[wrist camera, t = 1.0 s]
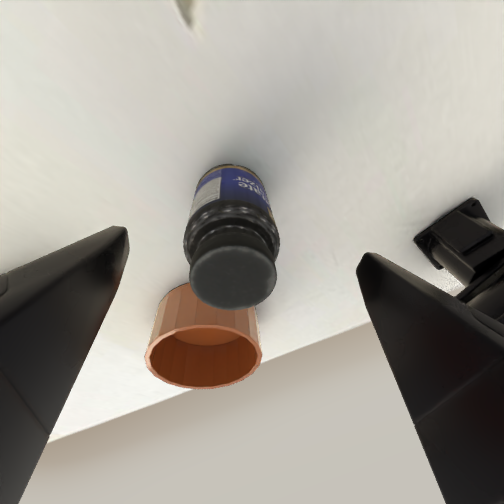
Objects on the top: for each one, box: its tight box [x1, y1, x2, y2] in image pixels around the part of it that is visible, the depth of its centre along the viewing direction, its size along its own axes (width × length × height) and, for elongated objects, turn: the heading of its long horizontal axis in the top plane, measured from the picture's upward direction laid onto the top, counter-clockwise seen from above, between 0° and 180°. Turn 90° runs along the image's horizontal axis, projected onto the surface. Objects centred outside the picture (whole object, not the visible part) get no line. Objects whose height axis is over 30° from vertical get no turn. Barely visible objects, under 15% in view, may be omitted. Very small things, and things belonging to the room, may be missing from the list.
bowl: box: [145, 283, 262, 389], centre depth 29 cm, size 12×12×6 cm
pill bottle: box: [183, 164, 280, 310], centre depth 18 cm, size 6×6×11 cm
